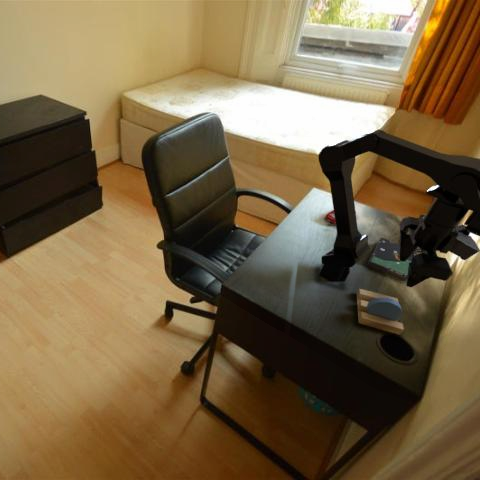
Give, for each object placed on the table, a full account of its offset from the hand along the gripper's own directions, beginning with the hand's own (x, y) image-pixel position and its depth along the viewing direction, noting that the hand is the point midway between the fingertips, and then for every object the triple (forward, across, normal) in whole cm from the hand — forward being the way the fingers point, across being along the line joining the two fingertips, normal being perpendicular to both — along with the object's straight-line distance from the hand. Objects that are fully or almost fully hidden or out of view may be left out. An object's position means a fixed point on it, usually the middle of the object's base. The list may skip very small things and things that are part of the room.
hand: (405, 273), depth 79 cm
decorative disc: (+13, +33, -13) cm, 38 cm away
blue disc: (+12, -5, +2) cm, 13 cm away
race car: (+13, +40, +9) cm, 43 cm away
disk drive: (+13, +21, -5) cm, 25 cm away
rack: (+13, -3, +2) cm, 13 cm away
